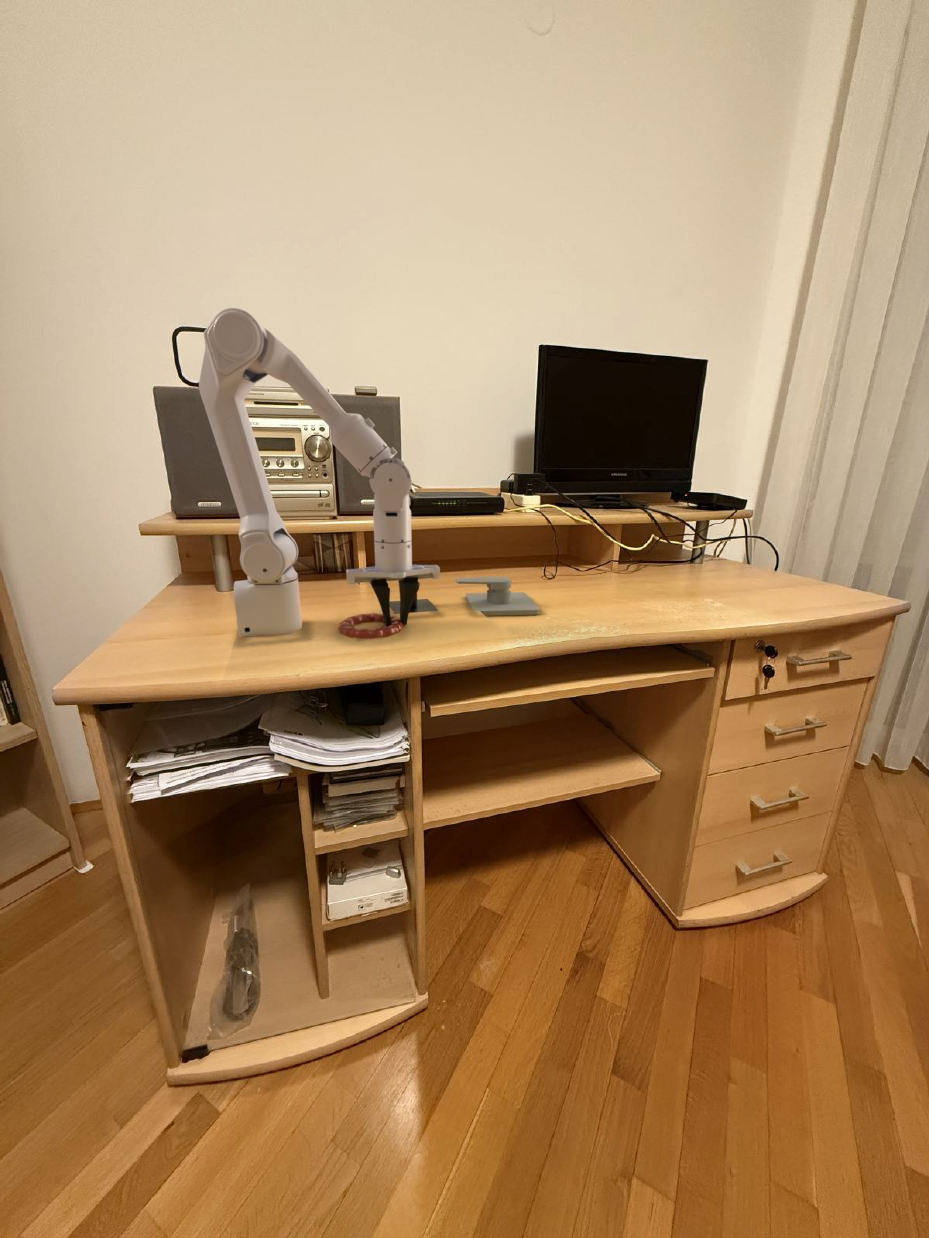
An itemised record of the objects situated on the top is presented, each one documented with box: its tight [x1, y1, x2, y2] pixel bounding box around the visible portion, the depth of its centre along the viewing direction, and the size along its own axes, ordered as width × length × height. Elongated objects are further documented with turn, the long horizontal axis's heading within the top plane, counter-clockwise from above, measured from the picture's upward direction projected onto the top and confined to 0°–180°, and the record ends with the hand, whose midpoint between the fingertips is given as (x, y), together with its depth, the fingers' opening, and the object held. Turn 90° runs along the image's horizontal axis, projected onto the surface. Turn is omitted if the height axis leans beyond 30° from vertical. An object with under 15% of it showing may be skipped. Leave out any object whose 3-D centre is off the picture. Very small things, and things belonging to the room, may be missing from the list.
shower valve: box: [455, 576, 540, 617], centre depth 94 cm, size 12×6×15 cm
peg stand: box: [390, 592, 439, 615], centre depth 90 cm, size 8×8×5 cm
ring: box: [338, 612, 404, 640], centre depth 78 cm, size 10×10×2 cm
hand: (395, 623), depth 80 cm, fingers closed on ring, 2 cm apart
